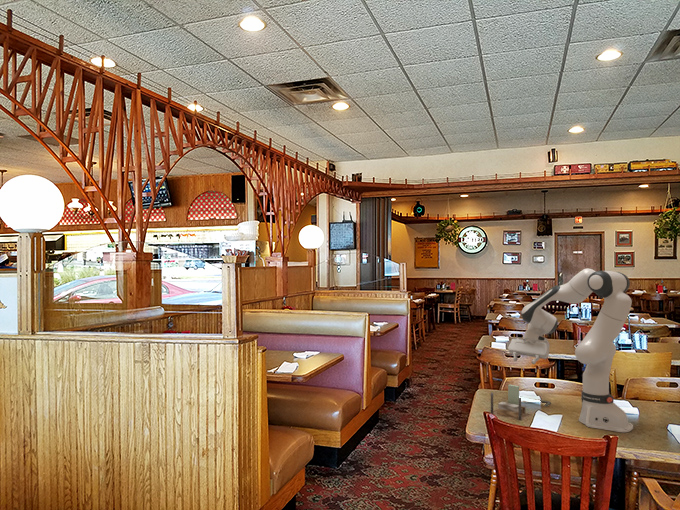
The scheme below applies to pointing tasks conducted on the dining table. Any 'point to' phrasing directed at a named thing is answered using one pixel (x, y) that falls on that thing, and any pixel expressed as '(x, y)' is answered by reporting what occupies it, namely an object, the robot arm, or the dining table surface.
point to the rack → (521, 416)
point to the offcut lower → (508, 413)
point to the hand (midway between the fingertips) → (523, 361)
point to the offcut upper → (508, 407)
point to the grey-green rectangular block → (513, 394)
